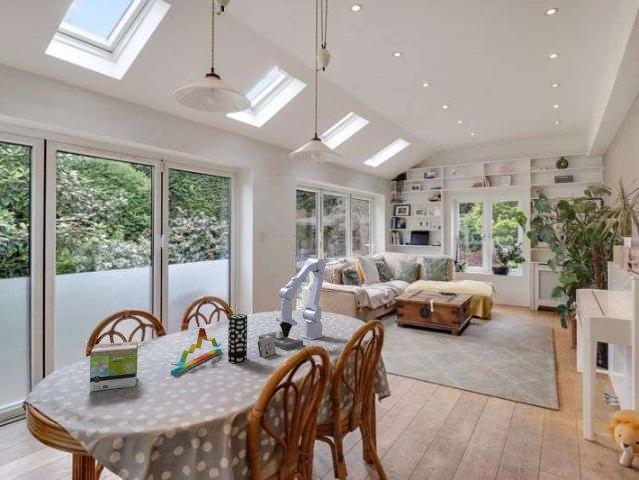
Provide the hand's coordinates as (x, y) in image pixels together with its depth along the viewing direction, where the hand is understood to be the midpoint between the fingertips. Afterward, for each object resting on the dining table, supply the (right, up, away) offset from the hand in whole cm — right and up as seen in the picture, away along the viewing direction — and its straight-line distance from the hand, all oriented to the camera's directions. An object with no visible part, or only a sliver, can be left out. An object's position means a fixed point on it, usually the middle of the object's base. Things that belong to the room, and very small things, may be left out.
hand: (285, 336), depth 191 cm
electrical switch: (-8, -5, -16) cm, 18 cm away
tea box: (-60, -4, -52) cm, 79 cm away
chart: (-36, -5, -28) cm, 46 cm away
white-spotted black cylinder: (-20, -4, -24) cm, 31 cm away
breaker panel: (-3, -4, +3) cm, 6 cm away
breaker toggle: (-3, -1, +3) cm, 5 cm away
